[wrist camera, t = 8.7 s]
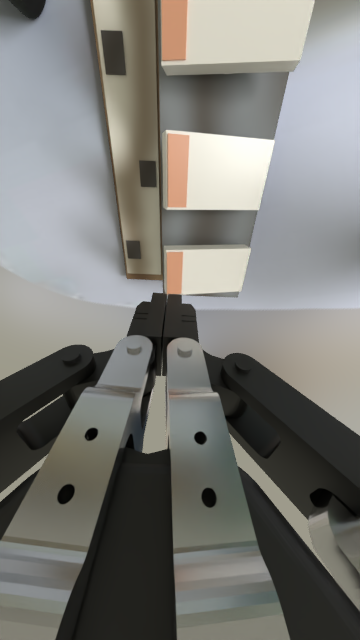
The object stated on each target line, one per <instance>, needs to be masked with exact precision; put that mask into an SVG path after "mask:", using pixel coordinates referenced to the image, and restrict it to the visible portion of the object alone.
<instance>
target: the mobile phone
mask: <svg viewBox="0 0 360 640" xmlns="http://www.w3.org/2000/svg"><path fill="white" fill-rule="evenodd" d="M9 1H10V2H11V3H12V4H13V5H14V6H15V7H16V8H17V9H18V10H19V11H20V12H21V13H22V14H24V15H25V16H26V17H28V18H37V17H39V15H40V14H41V12H42V10H43V7H44V5H45V1H46V0H9Z"/></svg>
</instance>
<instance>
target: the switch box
mask: <svg viewBox="0 0 360 640" xmlns="http://www.w3.org/2000/svg"><path fill="white" fill-rule="evenodd" d="M90 2H91V9H92V17H93V25H94V32H95V40H96V47H97V55H98V63H99V70H100V78H101V86H102V93H103V101H104V108H105V116H106V124H107V131H108V139H109V146H110V154H111V162H112V169H113V177H114V185H115V192H116V200H117V207H118V215H119V223H120V230H121V238H122V246H123V253H124V261H125V268H126V276H127V279H145V280H163V293H165V289H164V246H171V245H234V244H245V245H246V246H248V247H249V246H250V241H251V237H252V233H253V228H254V224H255V219H256V215H257V211H258V210H166V209H165V208H163V157H162V133H163V132H164V131H165V130H174V131H185V132H195V133H206V134H216V135H226V136H237V137H247V138H258V139H268V140H274V136H275V132H276V128H277V123H278V119H279V115H280V110H281V106H282V101H283V97H284V93H285V88H286V84H287V80H288V75H289V72H263V73H233V74H200V75H169V76H167V75H166V73H165V71H164V69H163V68H162V66H161V0H90ZM165 294H166V293H165ZM238 294H239V291H238V292H221V293H204V294H187V295H191V296H214V297H238Z"/></svg>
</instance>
